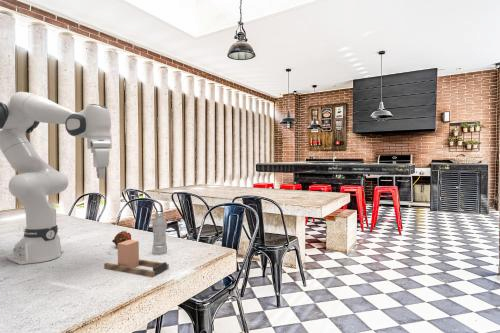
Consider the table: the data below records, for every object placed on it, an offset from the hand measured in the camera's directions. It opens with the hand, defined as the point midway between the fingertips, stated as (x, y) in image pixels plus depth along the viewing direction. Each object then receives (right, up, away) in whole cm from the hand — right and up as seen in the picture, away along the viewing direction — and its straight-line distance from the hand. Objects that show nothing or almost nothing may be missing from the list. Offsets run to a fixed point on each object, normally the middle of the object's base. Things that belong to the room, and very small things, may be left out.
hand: (100, 178), depth 120 cm
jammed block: (+12, -35, -2) cm, 37 cm away
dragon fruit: (-5, -36, +31) cm, 48 cm away
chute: (+16, -37, -3) cm, 40 cm away
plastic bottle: (+19, -36, +17) cm, 44 cm away
